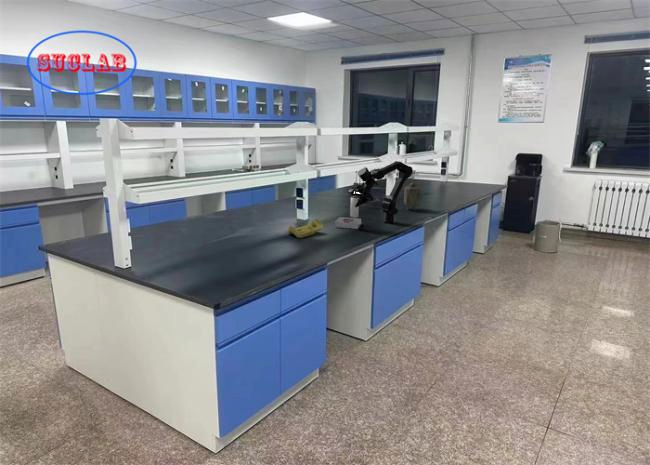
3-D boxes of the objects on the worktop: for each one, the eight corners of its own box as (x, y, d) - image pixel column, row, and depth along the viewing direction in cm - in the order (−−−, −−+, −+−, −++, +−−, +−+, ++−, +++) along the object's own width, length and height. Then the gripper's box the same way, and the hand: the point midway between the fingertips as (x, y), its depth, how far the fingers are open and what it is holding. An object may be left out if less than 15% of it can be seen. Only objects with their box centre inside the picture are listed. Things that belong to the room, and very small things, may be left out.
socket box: (339, 222, 273) (339, 215, 272) (361, 224, 270) (361, 217, 269) (334, 227, 259) (335, 220, 258) (357, 229, 256) (358, 222, 255)
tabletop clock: (418, 211, 312) (420, 177, 306) (405, 211, 312) (408, 177, 306) (414, 208, 326) (417, 175, 320) (402, 207, 326) (405, 175, 320)
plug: (352, 215, 262) (353, 195, 259) (359, 216, 259) (360, 196, 256) (348, 216, 258) (349, 196, 254) (355, 217, 255) (356, 197, 252)
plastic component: (299, 234, 232) (289, 224, 237) (296, 245, 236) (286, 234, 241) (326, 226, 245) (315, 216, 250) (323, 236, 249) (312, 226, 254)
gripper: (351, 175, 262) (336, 195, 259) (371, 179, 247) (355, 199, 244) (360, 187, 268) (345, 206, 265) (380, 191, 254) (365, 212, 250)
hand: (352, 206), depth 256 cm, fingers closed on plug, 5 cm apart
